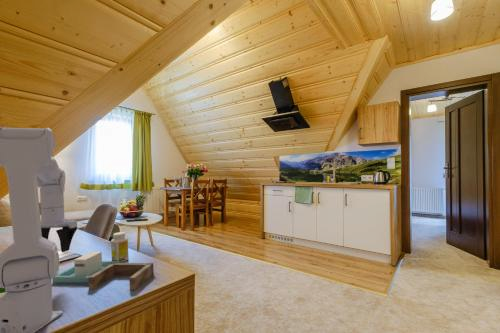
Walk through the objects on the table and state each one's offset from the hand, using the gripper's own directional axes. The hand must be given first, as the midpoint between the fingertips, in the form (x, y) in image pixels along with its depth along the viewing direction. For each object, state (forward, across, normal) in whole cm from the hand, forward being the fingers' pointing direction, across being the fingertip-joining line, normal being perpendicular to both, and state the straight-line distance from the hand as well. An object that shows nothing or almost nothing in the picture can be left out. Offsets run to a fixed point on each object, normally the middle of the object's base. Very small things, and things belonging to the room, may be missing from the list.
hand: (54, 251), depth 78 cm
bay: (+9, -22, 0) cm, 24 cm away
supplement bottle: (+10, -10, -17) cm, 22 cm away
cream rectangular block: (+9, -7, -5) cm, 12 cm away
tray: (+9, -7, -5) cm, 13 cm away
